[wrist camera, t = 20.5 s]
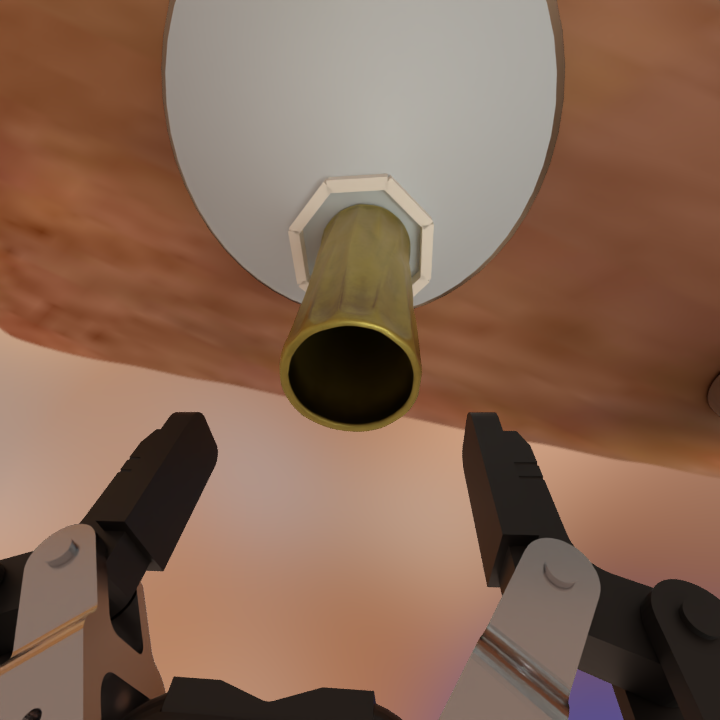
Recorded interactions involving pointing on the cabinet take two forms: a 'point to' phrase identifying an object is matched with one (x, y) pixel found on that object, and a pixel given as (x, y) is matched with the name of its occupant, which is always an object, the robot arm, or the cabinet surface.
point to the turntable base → (560, 66)
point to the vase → (356, 326)
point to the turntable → (361, 124)
